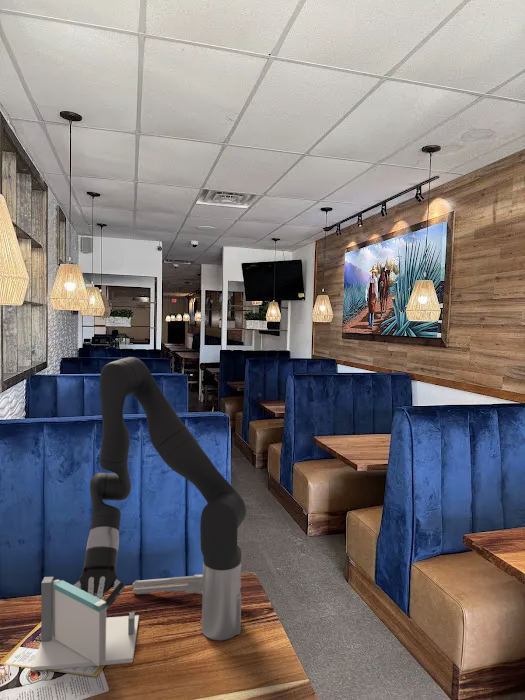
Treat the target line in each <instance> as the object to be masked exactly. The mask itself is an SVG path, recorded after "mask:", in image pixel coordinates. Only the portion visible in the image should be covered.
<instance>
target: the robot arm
mask: <svg viewBox="0 0 525 700" xmlns="http://www.w3.org/2000/svg"><path fill="white" fill-rule="evenodd" d="M99 378H100V379H99V389H100V405H101V406H100V409H101V419H102V420H101V421H102V422H101V423H102V438H101V445H100V453H99V454H100V455H99V465H100V467H101V468H102V469H103V470H105V471H109V472H97V473H95V474H94V475H93V476H92V478H90V479H91V480H90V481H89V492H90V498H91V506H92V514H91V522H90V523H91V524H90V529H89V534H88V537H87V544H86V548H85V554H84V555H85V556H84V563H83V568H82V572H81V575H80V576H79V578H78V579H79V580H78V581H76V582H75V583H74V584H72V585H73V586H75V587H77V588H79V589H81V587H82V588H83V589H82V590H83V591H85V592H87V593H89V594H91V595H93V596H95V597H97V598H99V599H101V600H103V601H105V602H106V610H107V609H109V608H111V606H112V605H113V604H114V602H116V600H117V598H119V597H120V595H121V594H122V593H123V592H124V590H125V584H124V582H122V581H120V580H118V575H117V573H116V572H117V570H116V569H117V564H118V563H117V561H118V553H119V548H120V547H119V546H120V545H119V543H120V535H119V534H120V526H121V525H120V524H121V516H122V515H121V510H120V508H118V507H116V506H113V505H111V504H110V505H109V504H107V503H105V502H104V501H120V502H121V501H124V500H126V499H127V498H128V497H129V495H130V494H131V491H132V485H131V479H130V474H129V468H128V458H129V452H130V444H131V443H130V442H131V441H130V433H129V429H128V427H127V424H126V422H125V419H124V405H125V401H126V398H127V396H129V395H133V396H134V397H135V399H136V400H137V401H138V403H139V404H140V405H141V407H142V408H143V411H144V414H145V416H146V420H147V428H148V434H149V439H150V442H151V444H152V446H153V448H154V449H155V450H156V452H157V454H158V455H159V456H160V458H161V459H162V460H163V462H164V463H165V464H166V465H167V466H168V467H169V468H170V469H171V470H172V471H174V472H175V473H176V474H177V475H179V476H181V477H183V478H184V479H186V480H187V481H189V482H190V483H191V484H193V486H194V487H195V488H197V490H198V491H199V492H200V494H201V495H202V497H203V499H204V500H205V501H206V505H205V506H204V507H203V509H202V510H201V514H200V521H199V522H200V525H199V527H200V530H199V532H200V533H199V535H200V550H201V551H200V552H201V554H202V556H203V557H202V574H203V588H202V590H201V591H202V594H201V595H202V596H201V597H202V598H201V620H200V621H201V632H202V634H203V635H204V636H205V637H206V638H207V639H210V640H212V641H213V640H214V641H227V640H229V639H231V638H233V637H235V636H237V635H241V628H242V627H241V626H242V625H241V622H242V619H241V618H242V594H241V588H240V580H241V581H242V578H241V577H242V575H241V574H242V571H241V570H242V549H241V548H240V546H239V545H238V530H239V527H240V526H241V525H242V523H243V521H244V520H245V519H246V515H247V506H246V504H245V501H244V500H243V498H242V497H241V495H240V494H239V493H238V492H237V490H236V489H235V488H234V487H233V486H232V485H231V484H230V483H229V482H228V480H227V479H226V478H225V477H224V476H223V474H221V473H220V471H219V469H217V467H216V466H215V465H214V463H213V462H212V460H211V459H210V458H209V456H208V455H207V453H206V452H205V451H204V449H203V448H202V447H201V446H200V443H198V442H197V440H196V438H195V437H194V435H193V434H192V432H191V431H190V429H189V428H188V427H187V425H185V423H184V422H183V420H181V418H180V417H179V415H178V414H177V412H176V410H175V409H174V408H173V407H172V405H171V404H170V402H169V401H168V400H167V398H166V397H165V395H164V393H163V392H162V390H161V388H160V386H159V385H158V383H157V381H156V379H155V378H154V376H153V374H152V372H151V371H150V370H149V368H148V367H147V364H145V363H144V362H143V361H142V360H141V359H139V358H137V357H135V356H128V357H124V358H120V359H117V360H114V361H111V362H108V363H107V364H105V365H104V366H103V367H102V369H101V371H100V377H99ZM112 587H113V588H112ZM111 589H113V590H112V592H110V594H109V595H108V596H107V598H106V599H105V596H106V594H108V593H109V591H110V590H111Z"/></svg>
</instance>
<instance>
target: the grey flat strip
mask: <svg viewBox="0 0 525 700" xmlns="http://www.w3.org/2000/svg"><path fill="white" fill-rule="evenodd" d="M132 588H133V589H132V591H133V593H135V594H136V595H143V594H144V595H146V594H150V593H153V592H164V593H172V592H185V594H194V593H197V595H202V588H203V573H202V574H198V573H197V574H194V575H190V576H187V575H186V576H174V577H167V578H165V577H164V578H153V579H144V580H143V579H142V580H138V579H136V580H135V581H134V582H133V583H132ZM241 588H242V579H241V580H240V589H241Z"/></svg>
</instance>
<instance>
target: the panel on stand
mask: <svg viewBox="0 0 525 700" xmlns="http://www.w3.org/2000/svg"><path fill="white" fill-rule="evenodd" d="M54 581H55V580H54V576H44V577H43V579H42V581H41V583H40V584H41V585H40V586H41V590H40V591H41V593H40V595H41V596H40V597H41V600H40V601H41V603H40V604H41V612H40V613H41V617H40V618H41V621H40V623H41V624H40V625H41V627H40V628H41V629H40V631H41V633H40V635H41V637H40V639H41V640H40V641H41V642H40V644H39V647H38V649H37V651H36V653H35V656H34V658H33V659H32V663H31V665H30V668H29V669H30V670H31V671H32V670H41V669H54V670H63V669H64V668H65V669H74V668H86V666H87V667H88V668H89V667H98V666H97V665H96V664H94V663H93V662H92V661H91V660H89V659H87V658H86V657H84V656H82V655H81V654H79V653H77V652H76V651H74V650H72V649H71V648H69V647H67V646H66V645H64V644H63V643H61V642H59V641H58V640H56V639H55V638H54V637H53V582H54ZM135 613H136V612H135V611H132V612H129V613H128V614H129V615H124V616H123V615H122V616H112V617H111V616H110V617H106V661H104V662H103V663H102V664H100V665H99V666H108V665H116V664H117V665H118V664H119V665H120V664H132V663H133V661H134V656H135V649H136V641H137V634H138V628H139V627H138V625H139V620H140V615H139V614H135ZM61 668H62V669H61ZM30 670H29V671H30ZM31 671H30V672H31ZM32 672H33V671H32Z"/></svg>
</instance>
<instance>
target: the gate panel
mask: <svg viewBox="0 0 525 700" xmlns="http://www.w3.org/2000/svg"><path fill="white" fill-rule="evenodd" d="M73 585H74V584H71V583H69V582H67V581H65V580H64V579H62V580H60V579H55V580H54V582H53V637H54V638H55V639H56V640H58V641H59V642H61V643H63V644H64V645H66V646H67V647H69V648H71V649H72V650H74V651H76V652H77V653H79V654H81V655H82V656H84V657H86V658H87V659H89V660H91V661H92V662H93V663H94V664H96V665H97V666H96V667H99V666H101V665H100V664H102V663H103V662H104V661H106V618H107V609H106V602H105V600H104V601H103V600H101V599H99V598H97V596H96V595H95V596H93V595H91V594H89V593H87V592H85V590H84V589H81V588H80V589H79V588H77V587H75V586H73Z"/></svg>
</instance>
